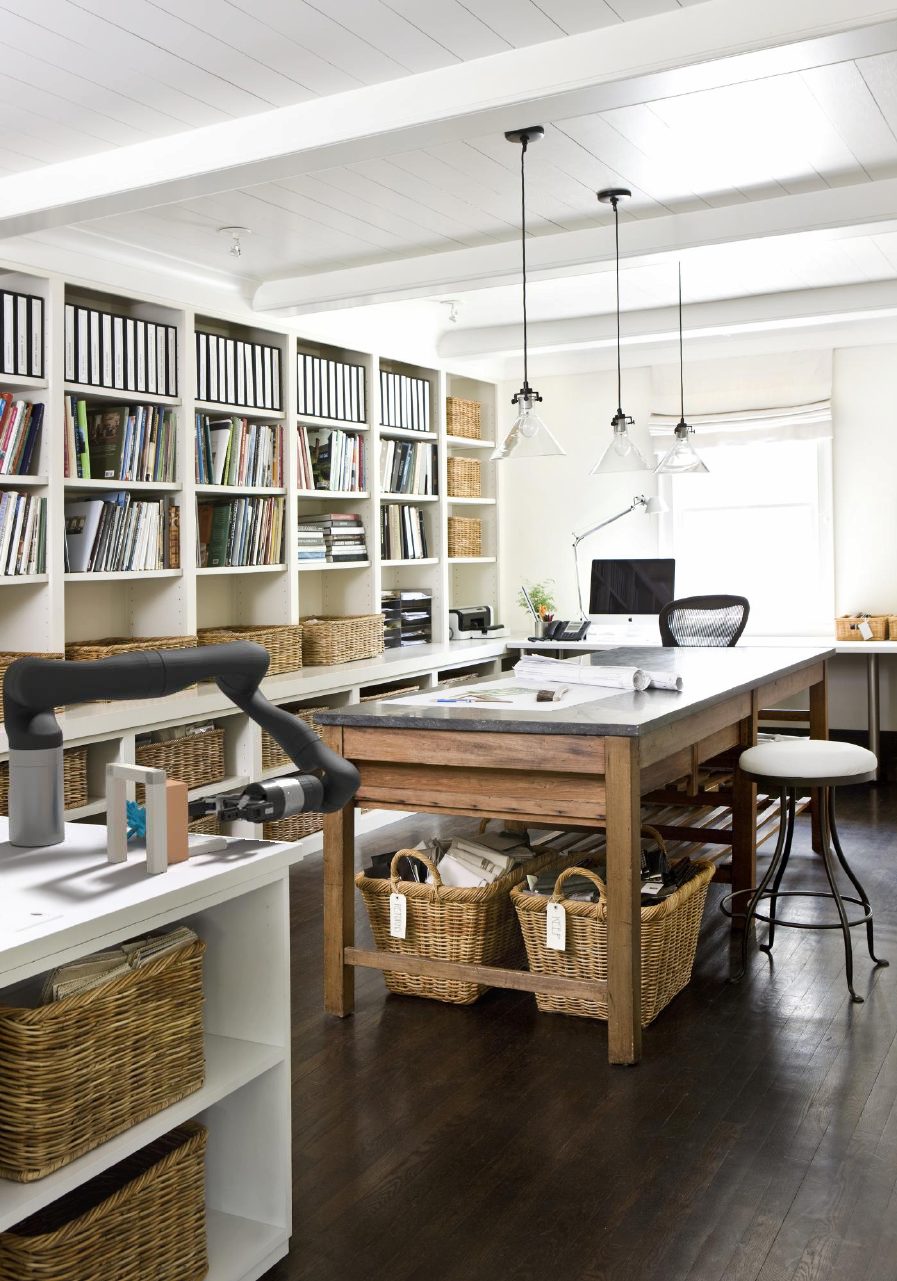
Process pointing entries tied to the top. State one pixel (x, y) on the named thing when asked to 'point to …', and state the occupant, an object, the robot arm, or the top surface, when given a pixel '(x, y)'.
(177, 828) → the orange and grey bookend
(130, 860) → the top surface
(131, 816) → the blue branched piece
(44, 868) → the top surface
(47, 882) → the top surface
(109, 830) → the grey arch
